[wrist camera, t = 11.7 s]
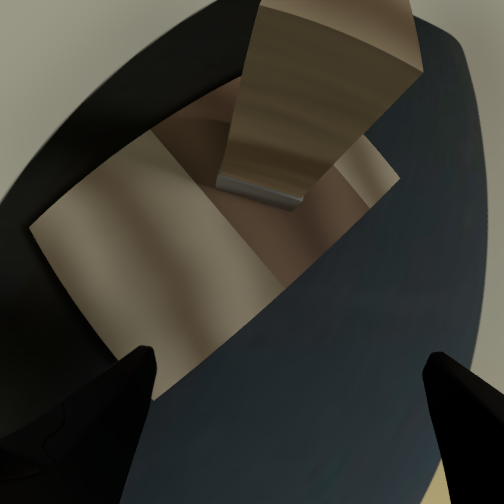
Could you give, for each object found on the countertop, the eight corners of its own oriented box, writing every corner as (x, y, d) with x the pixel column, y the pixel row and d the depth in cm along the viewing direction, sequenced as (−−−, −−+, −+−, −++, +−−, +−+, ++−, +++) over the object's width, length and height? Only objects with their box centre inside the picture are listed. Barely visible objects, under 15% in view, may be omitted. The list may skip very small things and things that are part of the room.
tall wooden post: (292, 211, 19) (428, 78, 6) (214, 189, 18) (252, 6, 6) (305, 146, 20) (411, -1, 7) (236, 124, 19) (285, -52, 7)
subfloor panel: (157, 393, 17) (153, 400, 16) (39, 232, 17) (29, 227, 16) (389, 185, 22) (399, 178, 21) (278, 67, 23) (283, 55, 21)
